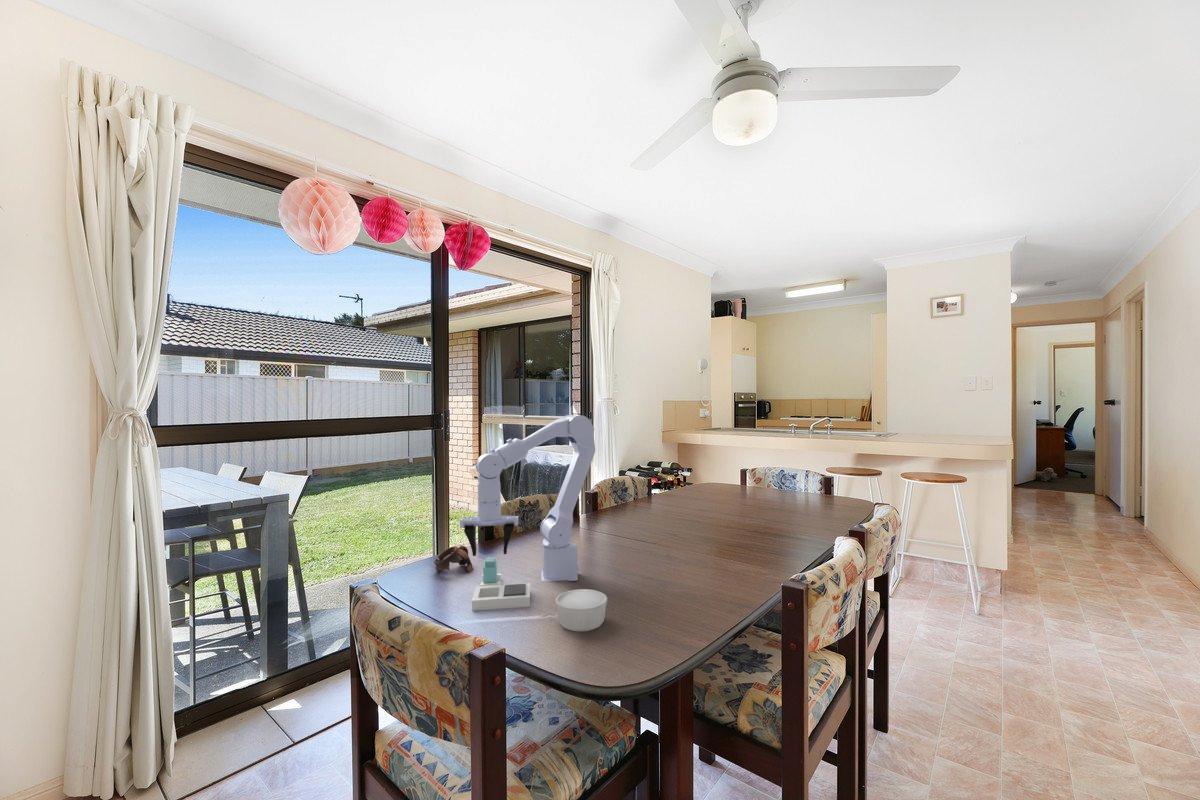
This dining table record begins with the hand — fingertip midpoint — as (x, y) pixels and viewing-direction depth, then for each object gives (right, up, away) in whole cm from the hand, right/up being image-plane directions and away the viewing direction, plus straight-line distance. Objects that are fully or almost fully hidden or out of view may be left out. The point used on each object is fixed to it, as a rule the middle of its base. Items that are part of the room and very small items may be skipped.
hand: (489, 553), depth 130 cm
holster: (0, -9, 0) cm, 9 cm away
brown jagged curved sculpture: (-12, -9, +12) cm, 19 cm away
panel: (+5, -9, -10) cm, 14 cm away
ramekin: (+24, -9, -21) cm, 33 cm away
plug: (0, -8, 0) cm, 8 cm away
